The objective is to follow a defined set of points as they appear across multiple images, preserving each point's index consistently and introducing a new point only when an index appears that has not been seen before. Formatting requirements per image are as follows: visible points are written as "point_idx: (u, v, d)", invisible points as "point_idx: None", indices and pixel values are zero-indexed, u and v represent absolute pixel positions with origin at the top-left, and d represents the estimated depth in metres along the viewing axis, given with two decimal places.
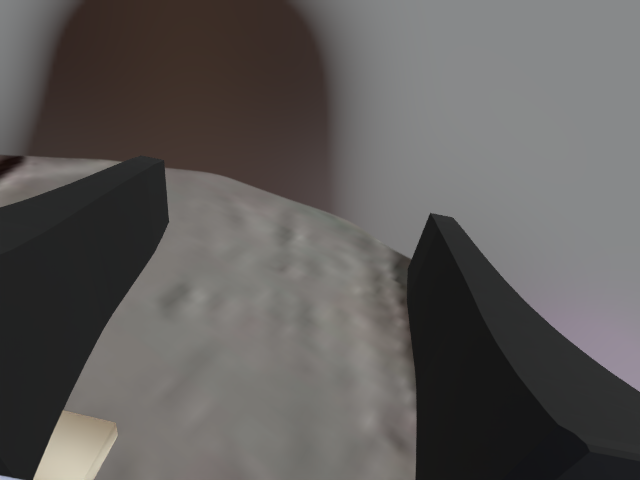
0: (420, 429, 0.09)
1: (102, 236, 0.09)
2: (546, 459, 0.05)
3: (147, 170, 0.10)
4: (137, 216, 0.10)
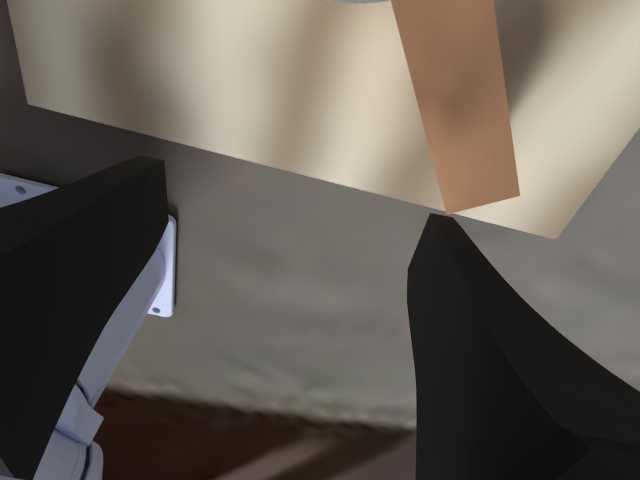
0: (420, 430, 0.09)
1: (102, 236, 0.09)
2: (546, 459, 0.05)
3: (147, 170, 0.10)
4: (137, 216, 0.10)
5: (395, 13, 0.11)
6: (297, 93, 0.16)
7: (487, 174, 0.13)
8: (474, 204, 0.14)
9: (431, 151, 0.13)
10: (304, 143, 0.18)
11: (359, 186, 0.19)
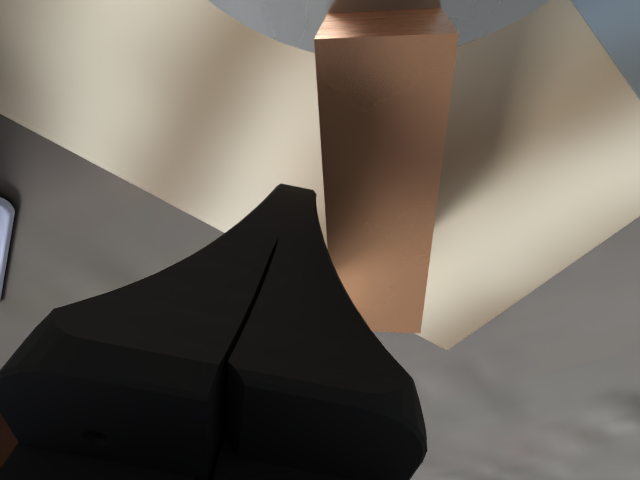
0: None
1: None
2: (233, 399, 0.05)
3: (299, 200, 0.10)
4: None
5: (319, 90, 0.08)
6: (193, 117, 0.12)
7: (389, 303, 0.11)
8: None
9: None
10: (191, 177, 0.14)
11: None
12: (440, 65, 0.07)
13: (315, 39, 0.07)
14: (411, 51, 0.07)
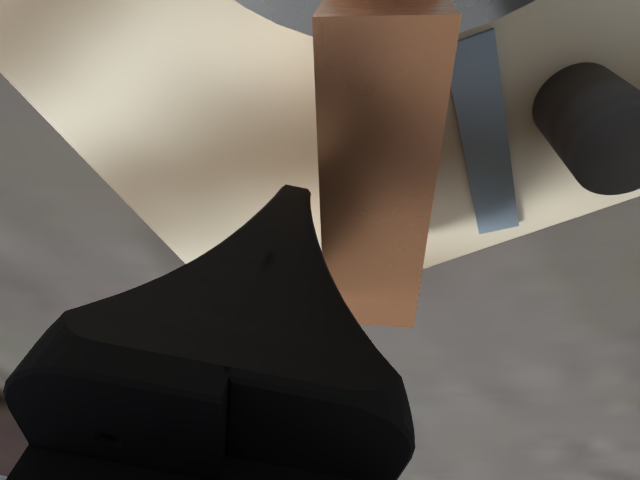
0: None
1: None
2: None
3: (304, 201, 0.10)
4: None
5: (316, 71, 0.07)
6: None
7: (383, 296, 0.11)
8: (359, 321, 0.11)
9: (323, 251, 0.10)
10: (28, 44, 0.12)
11: (77, 147, 0.14)
12: (441, 48, 0.07)
13: (313, 17, 0.07)
14: (413, 33, 0.07)
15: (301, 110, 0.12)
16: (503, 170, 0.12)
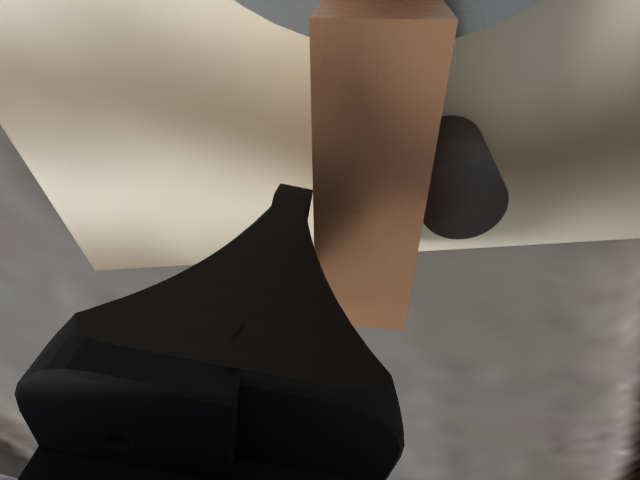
0: None
1: None
2: None
3: (309, 202, 0.10)
4: None
5: (312, 72, 0.07)
6: None
7: (374, 298, 0.11)
8: None
9: None
10: None
11: None
12: (437, 52, 0.07)
13: (310, 18, 0.07)
14: (409, 37, 0.07)
15: (202, 65, 0.11)
16: None
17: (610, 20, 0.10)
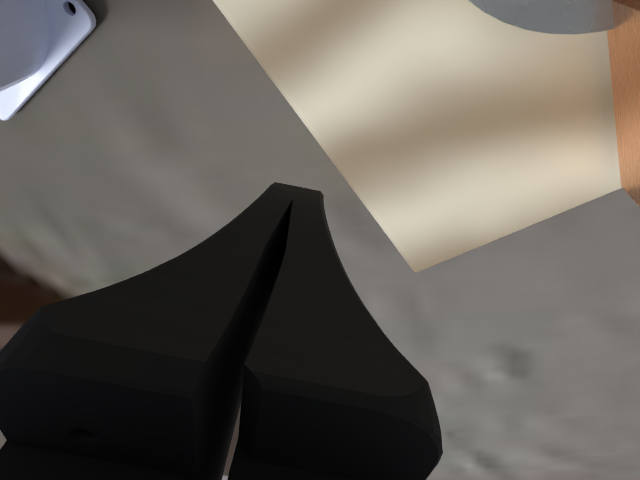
0: None
1: (267, 268, 0.09)
2: (249, 402, 0.05)
3: (292, 199, 0.10)
4: (281, 244, 0.10)
5: None
6: (330, 8, 0.15)
7: None
8: None
9: None
10: (299, 57, 0.16)
11: (314, 132, 0.18)
12: None
13: None
14: None
15: (497, 87, 0.16)
16: None
17: None
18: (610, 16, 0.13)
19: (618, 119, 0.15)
